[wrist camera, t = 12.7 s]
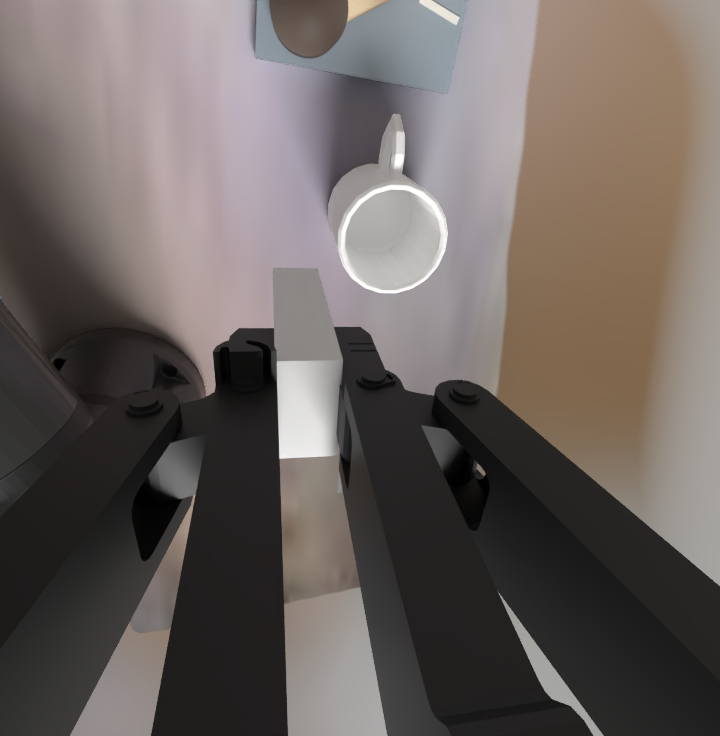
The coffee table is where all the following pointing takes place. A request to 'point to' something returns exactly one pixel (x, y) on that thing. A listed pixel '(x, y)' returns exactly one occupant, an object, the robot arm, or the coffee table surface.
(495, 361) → the coffee table surface
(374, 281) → the mug
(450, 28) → the board
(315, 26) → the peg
